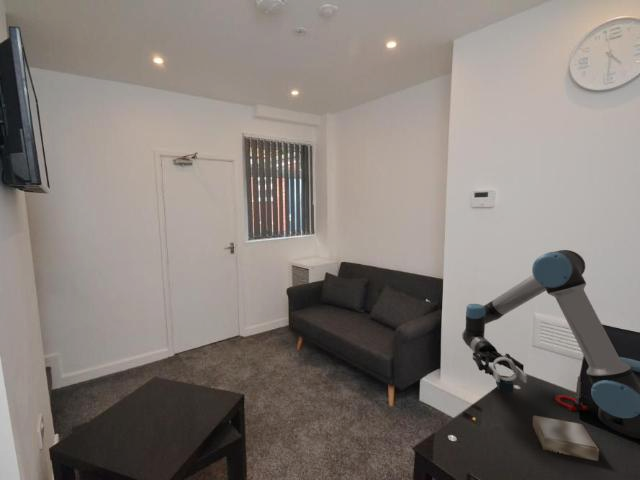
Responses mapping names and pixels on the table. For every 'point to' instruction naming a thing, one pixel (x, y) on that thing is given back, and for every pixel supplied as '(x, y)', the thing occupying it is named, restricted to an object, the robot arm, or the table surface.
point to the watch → (506, 381)
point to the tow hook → (573, 399)
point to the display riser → (565, 438)
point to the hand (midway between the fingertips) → (512, 378)
